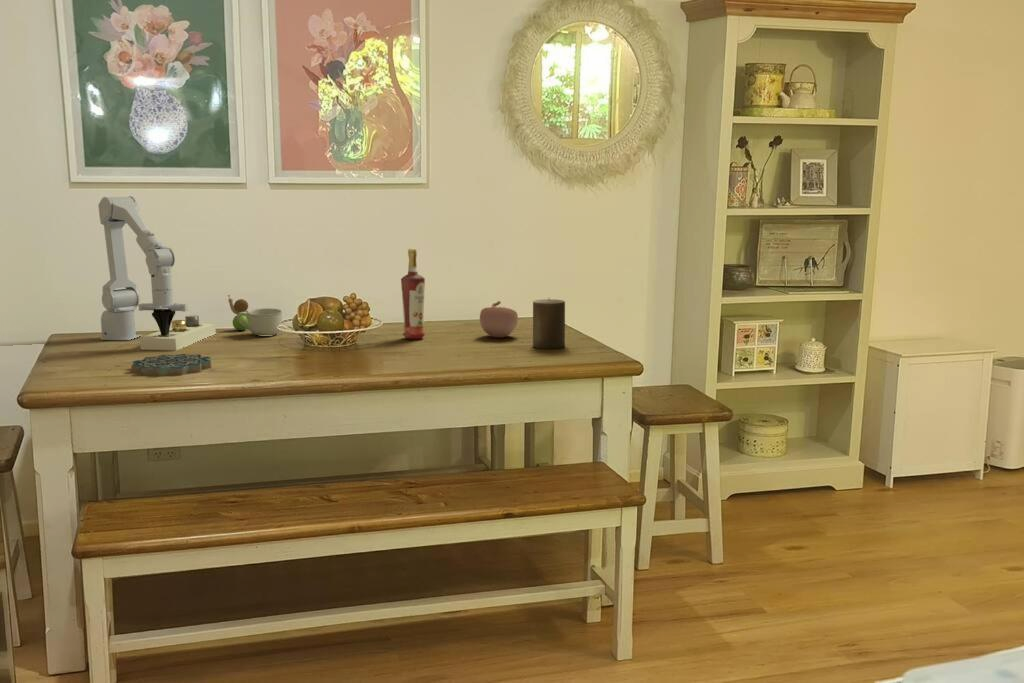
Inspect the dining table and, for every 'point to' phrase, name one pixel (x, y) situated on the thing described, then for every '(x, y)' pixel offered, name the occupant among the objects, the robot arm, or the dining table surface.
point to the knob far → (192, 321)
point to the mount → (177, 338)
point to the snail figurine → (237, 308)
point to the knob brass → (178, 325)
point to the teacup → (262, 320)
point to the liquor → (413, 299)
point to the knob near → (165, 335)
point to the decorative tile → (171, 365)
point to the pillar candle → (549, 323)
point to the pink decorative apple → (498, 320)
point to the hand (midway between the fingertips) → (165, 334)
